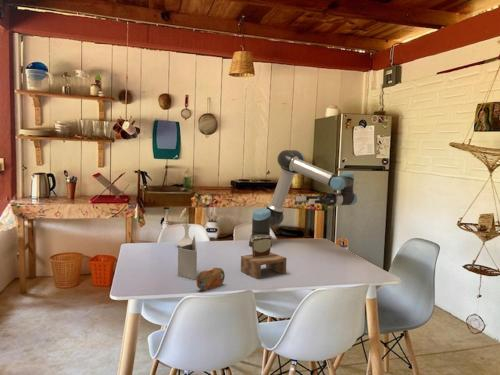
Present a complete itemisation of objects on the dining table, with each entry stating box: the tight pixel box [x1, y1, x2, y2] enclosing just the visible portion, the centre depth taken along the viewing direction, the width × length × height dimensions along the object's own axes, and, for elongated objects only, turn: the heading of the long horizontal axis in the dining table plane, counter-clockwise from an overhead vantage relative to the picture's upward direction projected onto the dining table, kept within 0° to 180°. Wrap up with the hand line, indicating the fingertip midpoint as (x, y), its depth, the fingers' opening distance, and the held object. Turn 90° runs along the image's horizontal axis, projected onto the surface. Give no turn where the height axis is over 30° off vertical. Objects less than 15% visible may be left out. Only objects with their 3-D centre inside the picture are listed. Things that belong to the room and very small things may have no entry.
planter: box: [177, 235, 198, 280], centre depth 194 cm, size 16×8×19 cm, turn 15°
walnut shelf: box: [240, 251, 288, 280], centre depth 202 cm, size 14×18×8 cm
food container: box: [249, 235, 273, 258], centre depth 204 cm, size 12×6×10 cm, turn 123°
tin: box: [195, 267, 226, 291], centre depth 177 cm, size 15×3×8 cm, turn 138°
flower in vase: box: [177, 207, 193, 247], centre depth 250 cm, size 13×11×25 cm
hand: (302, 200), depth 228 cm, fingers open, 13 cm apart
